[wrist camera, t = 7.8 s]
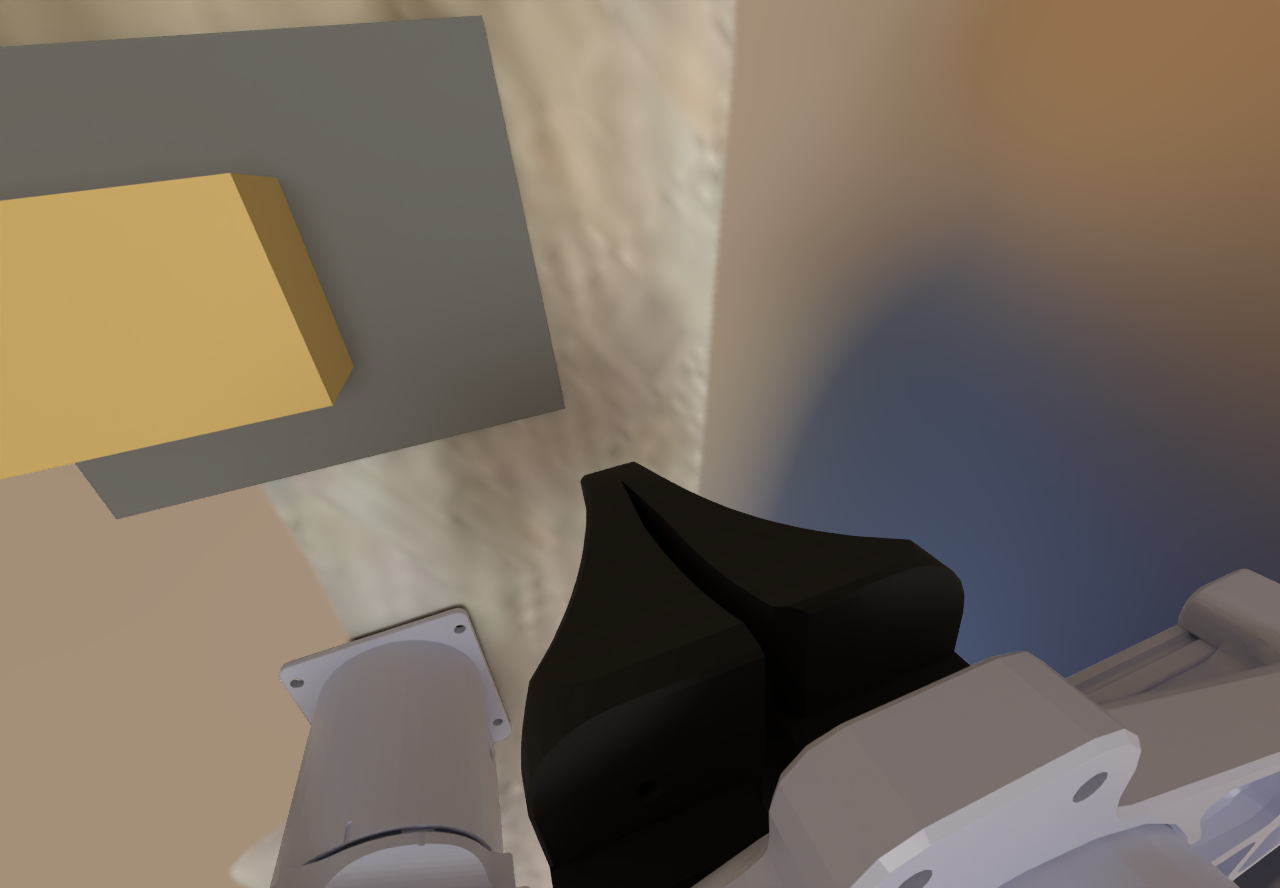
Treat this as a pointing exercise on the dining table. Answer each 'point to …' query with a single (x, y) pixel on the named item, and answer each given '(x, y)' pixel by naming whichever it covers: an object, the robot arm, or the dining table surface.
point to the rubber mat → (316, 220)
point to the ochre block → (156, 318)
